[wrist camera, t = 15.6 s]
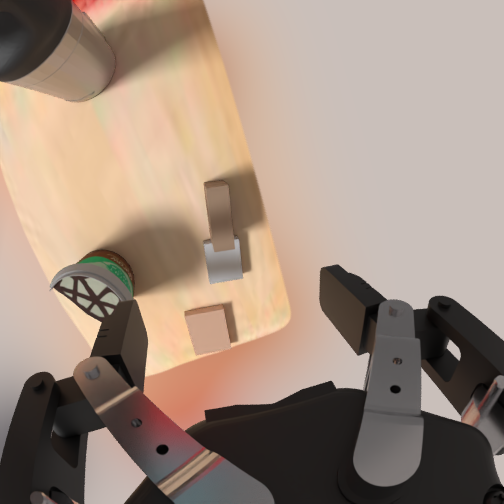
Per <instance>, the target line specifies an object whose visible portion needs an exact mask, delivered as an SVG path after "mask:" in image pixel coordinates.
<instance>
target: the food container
mask: <svg viewBox="0 0 504 504" xmlns="http://www.w3.org/2000/svg"><path fill="white" fill-rule="evenodd" d="M50 288H51V289H50V290H52V289H53V288H55V289H56V290H57V291H58V292H60V293H62V294H63V295H64V296H66V297H67V298H68V299H70V300H71V301H72V302H73V303H75V304H76V305H77V306H78V307H79V308H80V309H82V310H83V311H84V312H85V313H87V314H88V315H90V316H91V317H93V318H95V319H97V320H99V321H100V322H103V321H104V319H105V318H106V317H107V316H108V315H110V314H114V312H115V309H116V306H117V304H118V302H120V301H127V300H133V294H134V274H133V272H132V270H131V267H130V265H129V264H128V263H127V262H126V260H125V259H124V258H122V257H121V256H120V255H118V254H117V253H114V252H112V251H108V250H96V251H93V252H90V253H89V254H87V255H86V256H84V257H83V258H82V259H81V260H80V261H79V262H77V263H76V264H73V265H69V266H67V267H65V268H63V269H62V270H60V271H59V272H58V273H57V274H56V275H55V276H54V278H53V280H52V282H51V284H50Z"/></svg>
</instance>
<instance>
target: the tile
mask: <svg viewBox="0 0 504 504" xmlns="http://www.w3.org/2000/svg"><path fill="white" fill-rule="evenodd" d="M185 320H186V323H187V327H188V330H189V334H190V337H191V341H192V344H193V347H194V351H195V354H196V355H201V354H206V353H212V352H217V351H222V350H227V349H231V344H230V339H229V334H228V329H227V324H226V319H225V313H224V308H223V304H222V305H217V306H212V307H206V308H201V309H196V310H190V311H185Z"/></svg>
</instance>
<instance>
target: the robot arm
mask: <svg viewBox="0 0 504 504" xmlns="http://www.w3.org/2000/svg"><path fill="white" fill-rule="evenodd" d="M114 70H115V56H114V53H113V51H112V49H111V48H110V47H109V45H108V44H107V43H106V41H105V37H104V36H103V34H102V33H101V32H100V30H99V29H98V28H97V27H96V25H95V24H94V23H93V21H92V20H91V19H90V17H89V16H88V15H87V14H86V13H85V12H81V10H80V9H79V8H78V7H77V5H76V4H75V3H74V2H73V1H72V0H0V81H2V82H5V83H9V84H13V85H17V86H21V87H24V88H28V89H31V90H35V91H38V92H42V93H45V94H48V95H51V96H55V97H58V98H61V99H64V100H66V101H71V102H82V101H86V100H89V99H91V98H93V97H95V96H96V95H98V94H99V93H100V92H101V91H102V90H103V89H104V88H105V87H106V86H107V85H108V83H109V82H110V80H111V78H112V76H113V73H114ZM319 299H320V305H321V308H322V311H323V312H324V313H325V315H326V316H327V317H328V318H329V320H330V321H331V322H332V323H333V325H334V326H335V327H336V329H337V330H338V331H339V332H340V334H341V335H342V336H343V337H344V339H345V340H346V341H347V342H348V344H349V345H350V346H351V348H352V349H353V350H354V351H355V353H356V354H357V355H362V354H364V353H367V352H368V353H369V354H370V357H369V361H368V367H367V372H366V378H365V383H364V387H363V390H359V389H351V388H338V389H336V387H335V386H334V384H333V382H332V381H329V382H325V383H322V384H319V385H316V386H313V387H309V388H306V389H302V390H300V391H298V392H296V393H294V394H292V395H290V396H288V397H286V398H284V399H282V400H280V401H278V402H276V403H273V404H261V405H233V406H228V407H222V408H217V409H210V410H205V418H206V420H203V421H201V422H199V423H197V424H195V425H193V426H191V427H190V428H188V429H187V430H185V431H183V430H182V429H181V428H180V427H179V426H178V425H177V424H175V423H174V422H173V421H172V420H171V419H170V418H169V417H168V416H166V415H165V414H164V413H163V412H162V411H161V410H160V409H159V408H158V407H157V406H156V405H155V404H154V403H152V402H151V401H150V400H149V399H148V398H147V397H146V396H145V395H144V394H143V391H144V378H145V367H146V357H147V348H148V337H147V332H146V328H145V325H144V322H143V319H142V316H141V313H140V310H139V307H138V304H137V301H136V300H135V299H134V300H127V301H120V302H118V304H117V306H116V309H115V312H114V314H110V315H108V316H107V317H106V318H105V319H104V321H103V322H102V324H101V326H100V329H99V332H98V335H97V338H96V340H95V343H94V346H93V349H92V352H91V356H90V358H87V359H85V360H83V361H82V362H80V363H79V364H78V365H77V366H76V368H75V369H74V373H73V376H72V377H69V378H66V379H62V380H59V381H55V379H54V377H53V376H52V375H51V374H50V373H48V372H40V373H36V374H34V375H32V376H31V377H30V378H29V379H28V380H27V381H26V382H25V384H24V387H23V389H22V392H21V395H20V398H19V400H18V403H17V406H16V409H15V412H14V415H13V418H12V421H11V424H10V428H9V431H8V435H7V438H6V442H5V446H4V449H3V454H2V458H1V462H0V504H84V485H85V462H86V450H87V438H88V432H91V431H95V430H98V429H101V428H104V427H107V428H108V430H109V431H110V432H111V434H112V435H113V436H114V437H115V439H116V440H117V441H118V443H119V444H120V445H121V446H122V448H123V449H124V450H125V451H126V452H127V454H128V455H129V456H130V457H131V458H132V460H133V461H134V462H135V463H136V464H137V465H138V466H139V467H140V469H142V471H143V472H144V473H145V474H146V475H147V476H146V478H145V479H144V480H143V481H142V483H141V484H140V485H139V486H138V487H137V489H136V490H135V491H134V492H133V493H132V495H131V496H130V497H129V498H128V499H127V501H126V502H125V503H124V504H504V487H503V485H502V484H501V482H500V480H499V477H498V475H497V472H496V468H495V464H494V458H493V456H494V455H501V454H504V341H503V340H502V339H501V338H500V337H499V336H497V335H496V334H495V333H494V332H493V331H492V330H490V329H489V328H488V327H487V326H486V325H484V324H483V323H482V322H481V321H480V320H478V319H477V318H476V317H475V316H474V315H472V314H471V313H470V312H469V311H467V310H466V309H465V308H464V307H463V306H461V305H460V304H459V303H457V302H456V301H455V300H453V299H451V298H449V297H446V296H435V297H432V298H431V299H430V300H429V304H428V308H427V309H416V310H413V308H412V307H411V306H410V305H409V304H408V303H406V302H404V301H401V300H387V299H386V298H384V297H383V296H382V295H381V294H380V293H379V292H377V291H376V290H375V289H374V288H372V287H371V286H370V285H369V284H368V283H366V281H364V280H363V279H362V278H361V277H359V276H357V275H354V274H352V273H348V272H347V271H345V270H344V269H343V268H342V267H341V266H339V265H332V266H327V267H323V268H321V271H320V298H319ZM449 340H452V342H453V343H454V344H455V345H456V346H457V347H458V348H459V349H460V353H461V358H460V361H459V360H458V359H457V358H456V357H454V355H453V354H452V353H451V352H450V351H449V350H448V349H447V345H448V342H449ZM421 367H422V369H423V370H424V371H425V372H426V373H427V374H428V376H429V377H430V378H431V379H432V381H433V382H434V383H435V384H436V385H437V387H438V388H439V389H440V390H441V392H442V393H443V394H444V395H445V397H446V398H447V399H448V400H449V401H450V403H451V404H452V405H453V407H454V408H455V409H456V410H457V412H458V413H459V414H460V415H461V422H459V421H455V420H452V419H448V418H445V417H441V416H438V415H434V414H431V413H428V412H425V411H422V410H421ZM52 429H53V432H52ZM51 434H52V436H51Z"/></svg>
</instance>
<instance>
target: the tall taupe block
mask: <svg viewBox="0 0 504 504" xmlns="http://www.w3.org/2000/svg"><path fill="white" fill-rule="evenodd" d="M204 190H205V198H206V206H207V214H208V222H209V229H210V237H211V240H206V241H203V243H204V250H205V257H206V263H207V270H208V276H209V282H210V284H213V283H219V282H225V281H231V280H237V279H243V273H242V264H241V254H240V245H239V238H238V237H237V236H234V234H233V224H232V215H231V205H230V196H229V186H228V184H227V183H226V182H225V181H223V180H221V181H213V182H206V183H204Z"/></svg>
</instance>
